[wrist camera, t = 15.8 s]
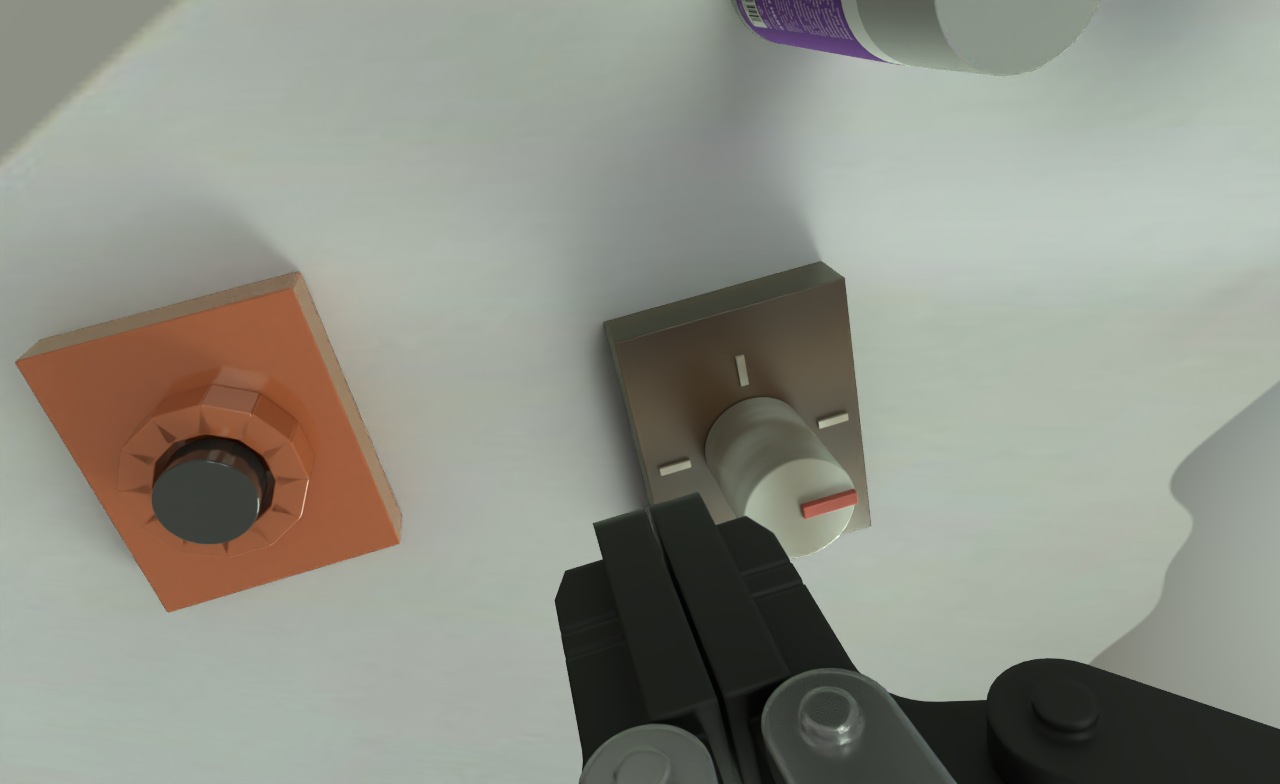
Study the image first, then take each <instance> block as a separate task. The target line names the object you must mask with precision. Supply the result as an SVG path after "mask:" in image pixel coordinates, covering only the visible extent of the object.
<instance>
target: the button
mask: <svg viewBox="0 0 1280 784" xmlns="http://www.w3.org/2000/svg"><path fill="white" fill-rule="evenodd" d="M267 484H268V483H267V475H266V471H265V469H264V467H263V465H262V463H261V462H260V460H259V459H258V458H257V457H256V456H255V455H254V454H253V453H252V452H251V451H250V450H248V449H247V448H245V447H243V446H242V445H240V444H237V443H235V442H232V441H228V440H224V439H201V440H197V441H194V442H191V443H188V444H186V445H184V446H182V447H181V448H179V449H178V450H177V451H176V452H175V453H174V454H173V455H172V456H171V457H170V459H169V460H168V462H167V464H166V465H165V467H164V469H163V471H162V472H161V474H160V476H159V478H158V479H157V481H156V483H155V485H154V487H153V491H152V499H151V501H152V507H153V510H154V513H155V515H156V517H157V519H158V520H159V522H160V523H161V524H162V525H163V527H164V528H166V529H167V530H168V531H169V532H170V533H172V534H173V535H175V536H177V537H179V538H181V539H183V540H186V541H189V542H192V543H197V544H206V545H212V544H221V543H225V542H229V541H232V540H234V539H236V538H238V537H240V536H241V535H243V534H244V533H246V532H247V531H248V530H249V529H250V528H251V527H252V526H253V524H254V523H255V521H256V519H257V517H258V514H259V512H260V509H261V506H262V503H263V500H264V497H265V494H266V491H267Z"/></svg>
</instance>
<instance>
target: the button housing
mask: <svg viewBox="0 0 1280 784" xmlns="http://www.w3.org/2000/svg"><path fill="white" fill-rule="evenodd" d="M15 363H16V365H17V367H18V368H19V370H20V372H21V373H22V375H23V377H24V378H25V380H26V381H27V383H28V385H29V386H30V388H31V390H32V391H33V393H34V395H35V396H36V398H37V400H38V401H39V403H40V404H41V406H42V408H43V409H44V411H45V413H46V414H47V416H48V418H49V419H50V421H51V422H52V424H53V426H54V427H55V429H56V431H57V432H58V434H59V436H60V437H61V439H62V441H63V442H64V444H65V445H66V447H67V449H68V450H69V452H70V454H71V455H72V457H73V459H74V460H75V462H76V463H77V465H78V467H79V468H80V470H81V472H82V473H83V475H84V477H85V478H86V480H87V482H88V483H89V485H90V486H91V488H92V490H93V491H94V493H95V495H96V496H97V498H98V500H99V501H100V503H101V504H102V506H103V508H104V509H105V511H106V513H107V514H108V516H109V518H110V519H111V521H112V523H113V524H114V526H115V527H116V529H117V531H118V532H119V534H120V536H121V537H122V539H123V541H124V542H125V544H126V545H127V547H128V549H129V550H130V552H131V554H132V555H133V557H134V559H135V560H136V562H137V564H138V565H139V567H140V568H141V570H142V572H143V573H144V575H145V577H146V578H147V580H148V582H149V583H150V585H151V586H152V588H153V590H154V591H155V593H156V595H157V596H158V598H159V600H160V601H161V603H162V605H163V606H164V608H165V609H166V611H167V612H172V611H175V610H178V609H182V608H185V607H189V606H192V605H195V604H199V603H202V602H205V601H209V600H212V599H215V598H219V597H222V596H226V595H229V594H232V593H236V592H239V591H242V590H246V589H249V588H252V587H256V586H259V585H263V584H266V583H269V582H273V581H276V580H279V579H283V578H286V577H289V576H293V575H296V574H300V573H303V572H306V571H310V570H313V569H316V568H320V567H323V566H326V565H330V564H333V563H337V562H340V561H343V560H347V559H350V558H353V557H357V556H360V555H363V554H367V553H370V552H374V551H377V550H380V549H384V548H387V547H390V546H394V545H397V544H399V543H400V537H401V523H402V515H401V512H400V510H399V507H398V505H397V503H396V500H395V498H394V495H393V493H392V491H391V488H390V486H389V483H388V481H387V479H386V476H385V474H384V471H383V469H382V467H381V464H380V462H379V459H378V457H377V455H376V452H375V450H374V447H373V445H372V442H371V440H370V438H369V435H368V433H367V430H366V428H365V426H364V423H363V421H362V418H361V416H360V414H359V411H358V409H357V406H356V404H355V402H354V399H353V397H352V394H351V392H350V390H349V387H348V385H347V382H346V380H345V378H344V375H343V373H342V370H341V368H340V366H339V363H338V361H337V358H336V356H335V354H334V351H333V349H332V346H331V344H330V342H329V339H328V337H327V334H326V332H325V330H324V327H323V325H322V322H321V320H320V317H319V315H318V313H317V310H316V308H315V305H314V303H313V301H312V298H311V296H310V293H309V291H308V289H307V286H306V284H305V281H304V279H303V277H302V274H301V272H300V271H297V272H293V273H290V274H286V275H282V276H278V277H274V278H271V279H267V280H263V281H259V282H256V283H252V284H248V285H244V286H241V287H237V288H233V289H229V290H226V291H222V292H218V293H214V294H211V295H207V296H203V297H199V298H195V299H192V300H188V301H184V302H180V303H177V304H173V305H169V306H165V307H162V308H158V309H154V310H150V311H147V312H143V313H139V314H135V315H131V316H128V317H124V318H120V319H116V320H113V321H109V322H105V323H101V324H98V325H94V326H90V327H86V328H83V329H79V330H75V331H71V332H67V333H64V334H60V335H56V336H52V337H49V338H45V339H41V340H39V341H38V342H37V343H36V344H35V345H34V346H32V347H31V348H30V349H29V350H28V351H27V352H26V353H24V354H23V355H22V356H21V357H20V358H19V359H18V360H17V361H15ZM201 439H224V440H228V441H232V442H235V443H237V444H240V445H242V446H243V447H245V448H247V449H248V450H250V451H251V452H252V453H253V454H254V455H255V456H256V457H257V458H258V459H259V460H260V462H261V463H262V465H263V467H264V469H265V471H266V475H267V483H268V484H267V491H266V494H265V497H264V500H263V503H262V506H261V509H260V512H259V514H258V517H257V519H256V521H255V523H254V524H253V526H252V527H251V528H250V529H249V530H248V531H247V532H246V533H244V534H243V535H241V536H240V537H238V538H236V539H234V540H232V541H229V542H225V543H221V544H212V545H206V544H197V543H192V542H189V541H186V540H183V539H181V538H179V537H177V536H175V535H173V534H172V533H170V532H169V531H168V530H167V529H166V528H164V527H163V525H162V524H161V523H160V522H159V520H158V519H157V517H156V515H155V513H154V510H153V507H152V501H151V499H152V491H153V487H154V485H155V483H156V481H157V479H158V478H159V476H160V474H161V472H162V471H163V469H164V467H165V465H166V464H167V462H168V460H169V459H170V457H171V456H172V455H173V454H174V453H175V452H176V451H177V450H178V449H179V448H181V447H182V446H184V445H186V444H188V443H191V442H194V441H197V440H201Z"/></svg>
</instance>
